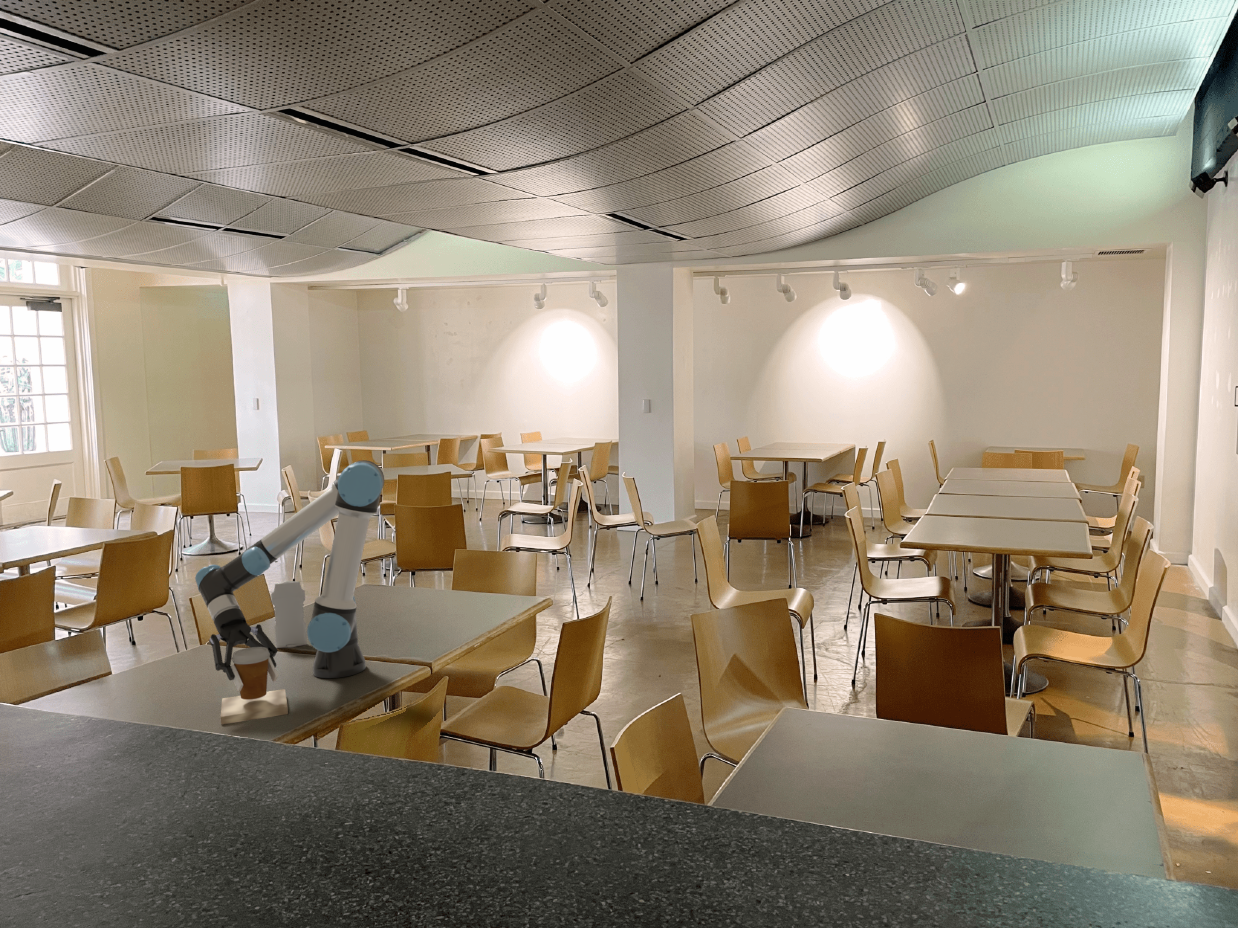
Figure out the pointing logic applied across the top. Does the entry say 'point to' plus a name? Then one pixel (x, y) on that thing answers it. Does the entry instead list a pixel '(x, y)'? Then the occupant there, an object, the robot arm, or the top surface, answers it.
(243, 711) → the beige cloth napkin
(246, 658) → the disposable coffee cup
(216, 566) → the robot arm
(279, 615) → the tall pale column
